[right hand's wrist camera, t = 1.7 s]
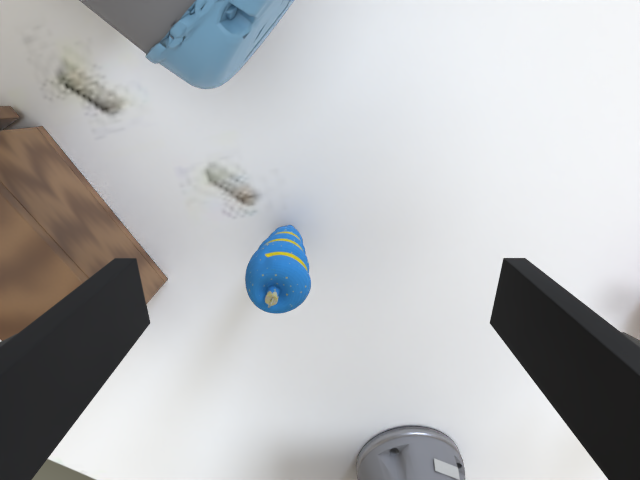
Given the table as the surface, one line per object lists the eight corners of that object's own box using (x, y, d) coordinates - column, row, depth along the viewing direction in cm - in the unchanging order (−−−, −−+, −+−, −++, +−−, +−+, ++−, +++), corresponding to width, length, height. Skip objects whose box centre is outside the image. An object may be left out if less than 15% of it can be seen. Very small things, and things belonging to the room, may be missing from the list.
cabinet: (-34, 180, 37) (-147, 206, 28) (42, 125, 35) (-54, 135, 26) (97, 318, 43) (39, 375, 34) (168, 279, 41) (125, 329, 32)
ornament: (321, 220, 38) (322, 290, 24) (300, 258, 40) (289, 345, 26) (278, 198, 37) (253, 258, 23) (258, 238, 39) (223, 316, 25)
